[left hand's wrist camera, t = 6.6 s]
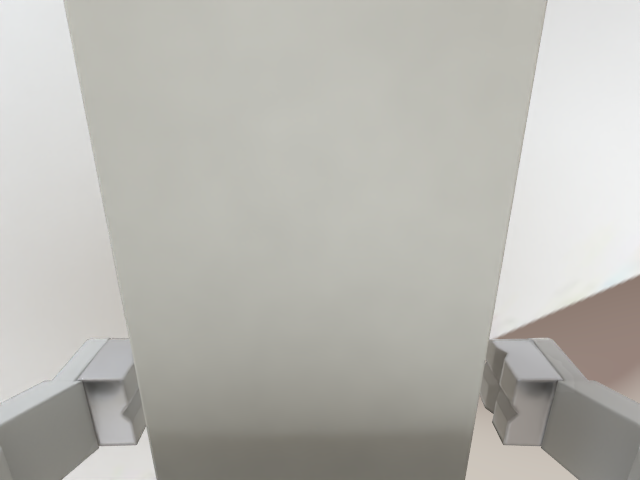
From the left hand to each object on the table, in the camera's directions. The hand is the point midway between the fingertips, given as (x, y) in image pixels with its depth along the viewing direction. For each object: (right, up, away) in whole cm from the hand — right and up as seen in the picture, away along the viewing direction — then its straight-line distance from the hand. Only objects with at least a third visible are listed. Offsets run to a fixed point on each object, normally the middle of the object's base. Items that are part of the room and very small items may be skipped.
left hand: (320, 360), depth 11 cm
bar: (0, +10, +2) cm, 10 cm away
